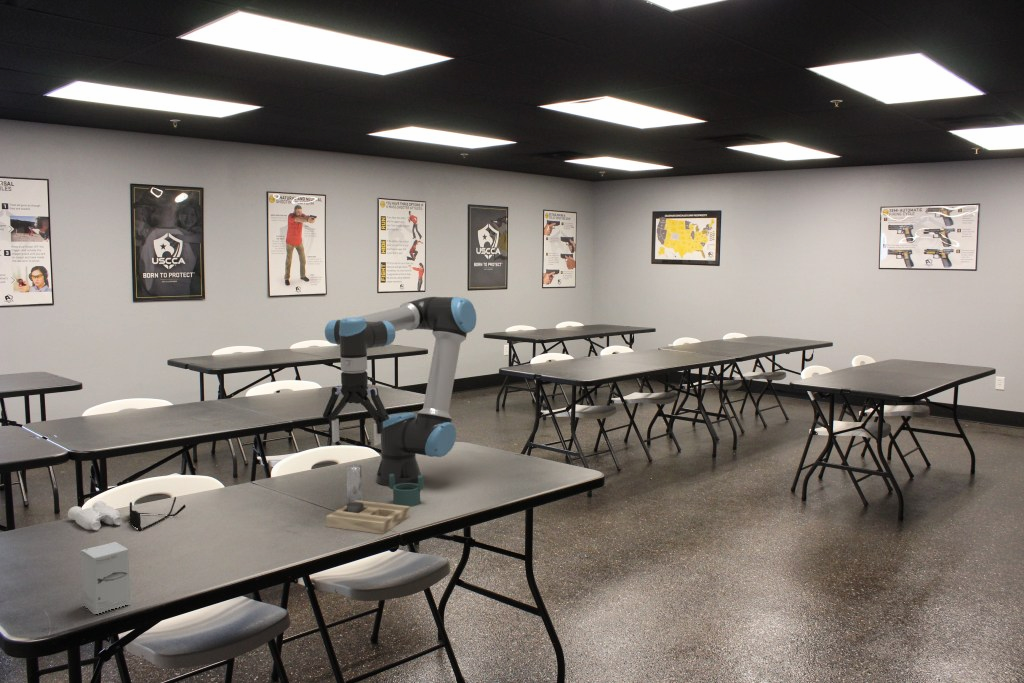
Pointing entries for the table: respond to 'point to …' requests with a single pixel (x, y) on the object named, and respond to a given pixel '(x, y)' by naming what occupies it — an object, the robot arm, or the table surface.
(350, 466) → the metal cylinder
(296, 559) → the table surface
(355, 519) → the jig
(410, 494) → the bracket
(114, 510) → the binoculars
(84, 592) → the supplement box
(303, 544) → the table surface
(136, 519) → the sunglasses
